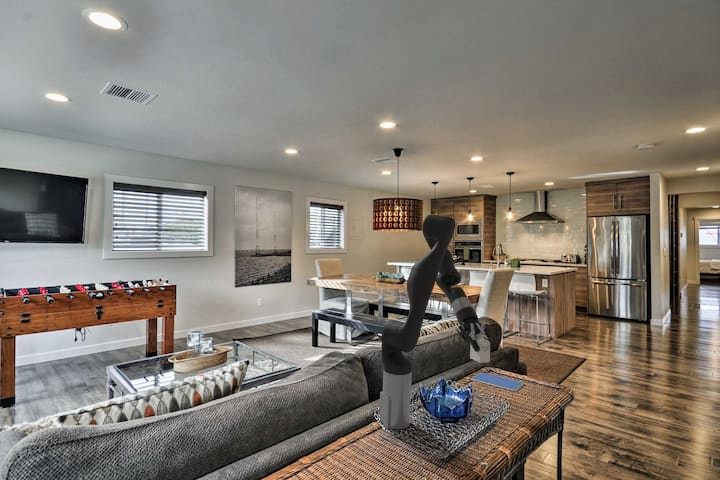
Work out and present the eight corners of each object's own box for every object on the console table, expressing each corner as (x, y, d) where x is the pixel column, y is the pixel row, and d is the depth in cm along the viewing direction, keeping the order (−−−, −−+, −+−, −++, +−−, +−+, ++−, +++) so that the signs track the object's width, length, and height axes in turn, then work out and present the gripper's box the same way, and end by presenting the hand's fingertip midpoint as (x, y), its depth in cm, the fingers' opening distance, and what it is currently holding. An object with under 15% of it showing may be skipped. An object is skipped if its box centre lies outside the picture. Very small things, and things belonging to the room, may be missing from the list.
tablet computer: (470, 381, 167) (470, 378, 167) (481, 374, 177) (481, 371, 177) (515, 393, 155) (515, 390, 155) (524, 385, 164) (524, 382, 164)
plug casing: (479, 362, 137) (480, 336, 137) (470, 358, 142) (470, 333, 142) (489, 361, 139) (490, 336, 139) (479, 357, 144) (480, 332, 144)
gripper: (453, 306, 145) (472, 346, 134) (483, 305, 150) (504, 343, 139) (445, 317, 150) (462, 357, 139) (474, 316, 155) (493, 354, 144)
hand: (483, 350), depth 139 cm, fingers closed on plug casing, 4 cm apart
